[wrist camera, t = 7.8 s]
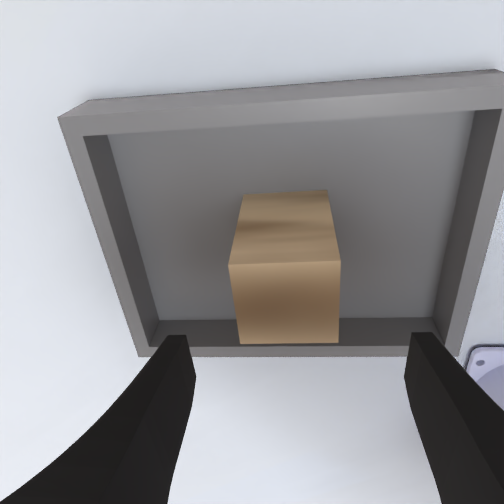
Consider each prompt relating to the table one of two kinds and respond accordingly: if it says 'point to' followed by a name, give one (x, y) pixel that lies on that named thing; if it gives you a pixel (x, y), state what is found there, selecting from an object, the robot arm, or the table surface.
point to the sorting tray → (292, 180)
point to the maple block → (286, 269)
